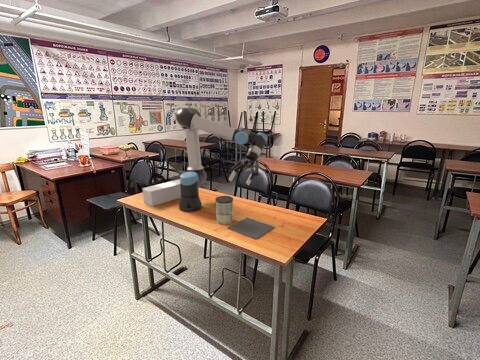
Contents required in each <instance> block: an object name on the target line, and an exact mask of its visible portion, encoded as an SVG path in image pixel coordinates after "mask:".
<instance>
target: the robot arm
mask: <svg viewBox="0 0 480 360" xmlns="http://www.w3.org/2000/svg"><path fill="white" fill-rule="evenodd" d="M175 119H176V122H177V123H178V125H180V126H181V127H182V130H183V131H184V132H185V141H186V151H187V152H186V153H187V159H188V160H187V161H188V166H187V168H186V171H185V172H182V173H181V174H180V175H179V179H180V189H181V198H179V203H178V209H179V211H180V212H196V211H199V210H201V209H202V208H203V206H202V205H203V204H202V201H201V198H200V195H199V188H200V187H201V186H203V185H204V184H205V182H206V181H207V177H208V176H207V175H208V174H207V172H206V171H205V167H204V166H203V165H202V159H201V157H202V156H201V148H200V146H201V145H200V136H199V130H200V131H202V132H204V133H208V134H211V135H214V136H217V137H220V138H222V139H223V138H224V139H226V140H228V141H232V142H234V143H236V144H237V145H240V146H241V145H242V146H243V145H245V144H249V145H250V147H249V149H248V150H247V153H246V154H245V158H244V159H243V158H241V157H240V159H239V160H238V161H237V162H236V163H235V164H233V166H232V167H230V170H231V172H230V175H229V178H228V180H229V181H230V182H233V180H234V177H235V176H236V174H237V172H238V171H240V170H241V169H243V168H250V171H251V173H250V174H249V176H248V178H247V180H246V182H245V184H246V185H247V186H250V184H251V182H252V181H253V179H255V177H256V176H259V165H260V162H259V161H258V159H259V156H260V155H261V153H262V151H263V150H264V147H265V145H266V144H267V141H268V136H267V134H266V133H264V132H257V133H255V132H253V131H251V130H249V129H247V128H245V127H242V126H241V127H239V128H234V127H231V126H229V125H225V124H223V123H220V122H216V121H213V120H210V119H208V118H205V117H202V114H201V112H200V111H199V110H198V109H196V108H195V107H182V108H179V109H177V112H176V113H175Z"/></svg>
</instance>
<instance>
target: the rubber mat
mask: <svg viewBox="0 0 480 360" xmlns="http://www.w3.org/2000/svg"><path fill="white" fill-rule="evenodd" d="M226 229H228V230H230V231H232V232H236V233H239V234H241V235H243V236H246V237H248V238H251V239H253V240H258V239H260V238H261V237H262V236H264V235H266V234H267V233H270V232H271V231H273V230H274V229H276V226H274V225H271V224H267V223H265V222H263V221H262V222H261V221H259V220H256V219H253V218H250V217H245V218H243V219H241V220H239V221H237V222H236V223H234V224H231V225H230V226H227V227H226Z"/></svg>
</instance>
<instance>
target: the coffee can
mask: <svg viewBox="0 0 480 360" xmlns="http://www.w3.org/2000/svg"><path fill="white" fill-rule="evenodd" d="M215 222H216V223H217V224H219V225H230V224H232V223H233V222H234V197H232V196H230V195H220V196H219V195H218V196H217V197H215Z"/></svg>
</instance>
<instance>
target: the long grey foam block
mask: <svg viewBox="0 0 480 360" xmlns="http://www.w3.org/2000/svg"><path fill="white" fill-rule="evenodd" d="M141 188H142V195H143V197H142V199H143V204H144V203H145V204H146V205H149V206H150V207H154V206H157V205H160V204H163V203H167V202H171V201H173V200H176V199H181V189H180V178H179V179H175V180H171V181H170V180H169V181H167V182H162V183H159V184H155V185H150V186H147V187H141Z"/></svg>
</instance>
